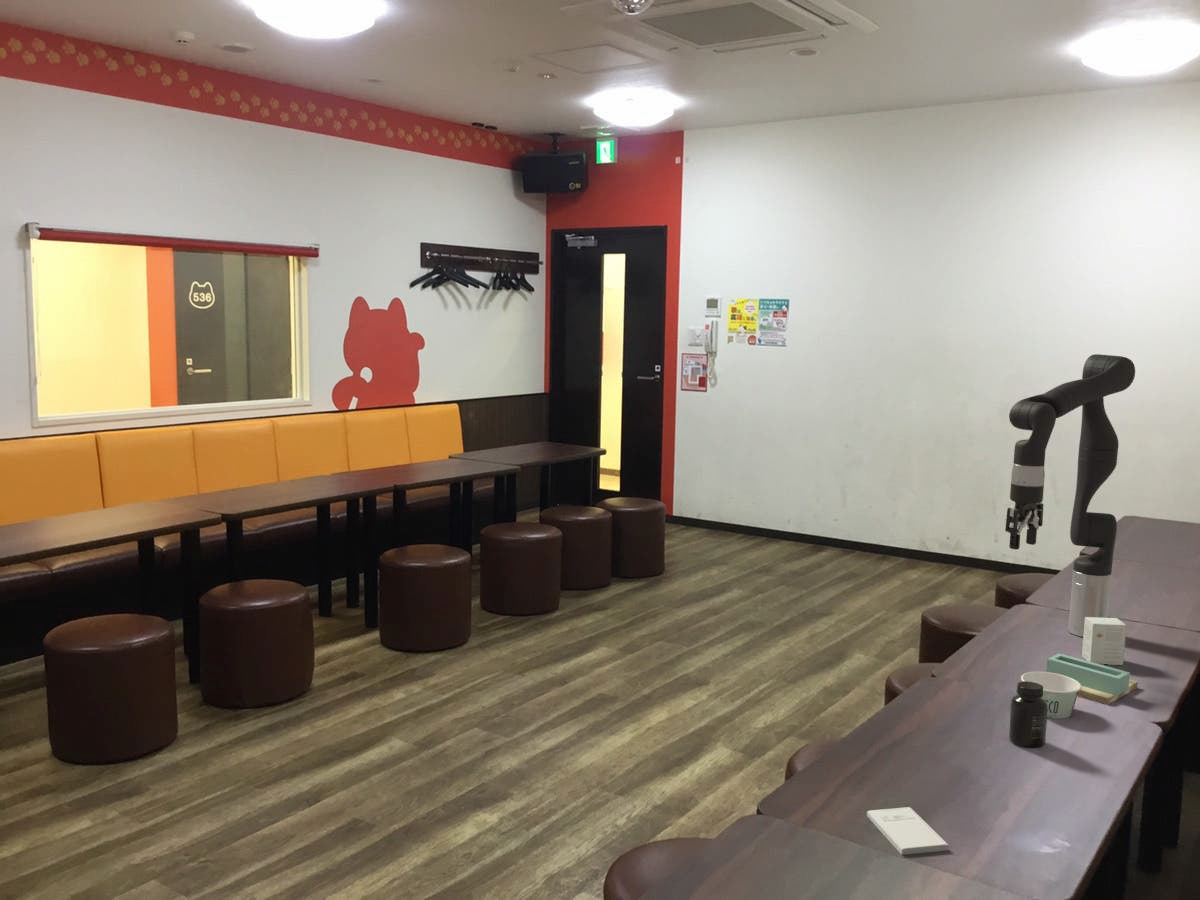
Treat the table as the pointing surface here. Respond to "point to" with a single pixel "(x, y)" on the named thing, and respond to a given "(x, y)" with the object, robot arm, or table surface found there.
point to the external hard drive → (907, 831)
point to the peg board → (1104, 693)
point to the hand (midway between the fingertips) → (1022, 546)
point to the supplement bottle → (1028, 716)
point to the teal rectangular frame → (1090, 674)
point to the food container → (1056, 692)
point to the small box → (1104, 640)
